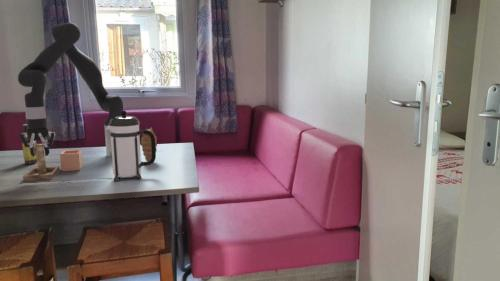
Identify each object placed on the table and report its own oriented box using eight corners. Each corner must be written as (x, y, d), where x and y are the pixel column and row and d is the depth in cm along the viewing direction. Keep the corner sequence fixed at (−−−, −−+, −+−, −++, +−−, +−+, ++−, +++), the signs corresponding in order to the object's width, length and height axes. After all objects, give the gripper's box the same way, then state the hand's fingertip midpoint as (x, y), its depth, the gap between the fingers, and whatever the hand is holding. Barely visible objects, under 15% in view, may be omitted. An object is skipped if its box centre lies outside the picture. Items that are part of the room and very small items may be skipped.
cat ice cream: (151, 165, 189) (150, 129, 186) (138, 163, 192) (136, 128, 188) (161, 161, 197) (159, 127, 194) (148, 159, 200) (146, 126, 196)
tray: (60, 172, 176) (59, 166, 175) (52, 181, 162) (51, 174, 162) (33, 174, 173) (33, 167, 172) (23, 183, 160) (22, 176, 159)
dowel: (47, 174, 169) (44, 143, 167) (45, 176, 166) (42, 145, 164) (39, 174, 169) (36, 144, 166) (37, 176, 166) (34, 145, 163)
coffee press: (127, 184, 157) (122, 113, 152) (102, 178, 166) (97, 111, 160) (157, 175, 172) (154, 109, 166) (133, 170, 180) (130, 107, 174)
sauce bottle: (39, 163, 192) (34, 124, 188) (24, 165, 189) (20, 125, 185) (37, 160, 197) (33, 123, 194) (24, 162, 194) (19, 124, 190)
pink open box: (83, 167, 184) (81, 149, 183) (80, 171, 177) (78, 153, 175) (65, 168, 182) (64, 150, 181) (61, 173, 175) (60, 154, 173)
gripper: (56, 115, 168) (60, 153, 171) (20, 116, 164) (25, 154, 168) (52, 117, 160) (56, 156, 164) (14, 118, 157) (19, 158, 160)
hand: (40, 155), depth 166 cm, fingers open, 4 cm apart
